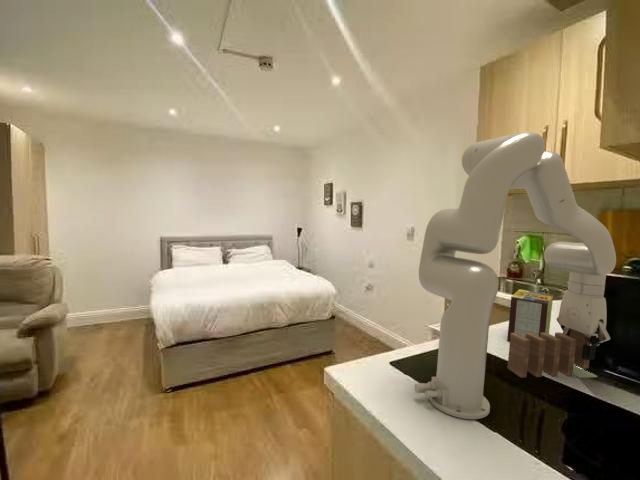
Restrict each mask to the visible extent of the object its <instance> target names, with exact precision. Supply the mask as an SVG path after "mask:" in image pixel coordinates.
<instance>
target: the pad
mask: <svg viewBox="0 0 640 480" xmlns="http://www.w3.org/2000/svg"><path fill="white" fill-rule="evenodd" d="M575 365H576V364H575ZM575 365H574V366H573V375H572V376H575V377H576V378H579V379H581V378H582V379H583V378H584V379H586V378H588V379H589V378H598V375H597V374H594V373H593V372H591V373H590V371H589V372H588V370H587V371H585V370H586V369H585V370H583V369H580V368H578V367H576V366H575Z"/></svg>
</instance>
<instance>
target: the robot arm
mask: <svg viewBox="0 0 640 480" xmlns="http://www.w3.org/2000/svg"><path fill="white" fill-rule="evenodd" d="M545 149H546V141H545V140H544V137H543V136H542V135H541V134H538V133H536V132H532V131H531V132H530V131H526V132H525V131H523V132H518V133H512V134H509V135H504V136H500V137H495V138H491V139H486V140H481V141H478V142H474V143H472V144H470V145H469V146H468V147H466V149H465V150H464V151H463V153H462V157H461V165H462V169H463V171H464V172H465V173H466V175H467V176H468V177H467V179H466V181H465V183H464V187H463V190H462V195H461V198H460V199H461V200H460V203H459V206H458V208H445V209H441V210H439V211H437V212H436V213H434V214H433V215H432V217H431V218H430V219H429V221H428V223H427V225H426V227H425V228H426V229H425V232H424V238H423V242H422V247H421V248H422V249H421V255H420V261H419V267H418V280H419V284H420V285H421V287H422V288H423V289H424V290H425V291H426V292H428V293H430V294H432V295H435V296H438V297H441V298H444V299H446V300H449V301H450V303H449V305H448V307H447V308H446V309H445V311H444V312H443V314H442V317H441V319H440V324H439V325H440V327H439V340H438V352H437V364H436V365H437V367H436V376H431V381H428V382H427V383H423V382H419V383H418V382H417V383H414V391H415V393H416V394H421V393H422V394H424V395H425V397H426V398H428V400H429V402H430V403H431V404H432V406H434V407H435V408H437V409H438V410H439V411H441V412H443V413H444V414H447V415H449V416H452V417H456V418H458V419H464V420H480V419H483V418H486V417H487V416H488V415H489V414H490V410H491V403H490V402H489V400H488V399H487V398H486V397H485V396H484V385H485V378H486V377H485V375H486V366H487V365H486V363H487V353H488V344H489V343H488V341H489V329H490V324H491V323H490V321H491V317H492V316H491V315H492V310H493V307H494V304H495V301H496V298H497V294H498V292H499V291H498V290H499V282H500V281H499V277H498V275H497V273H496V271H495V270H494V269H493V268H492V267H491V266H489V265H488V264H485V263H483V262H481V261H477V260H473V259H468V258H463V257H455V256H456V253H457V252H461V253H466V254H476V255H486V254H490V253H491V252H493V251H494V250H495V248H496V247H497V245H498V243H499V240H500V236H501V235H500V234H501V229H502V224H503V219H504V215H505V214H504V213H505V208H506V203H507V199H508V194H509V192H510V190H520V189H521V190H525V191H526V193H527V197H528V200H529V202H530V204H531V208H532V209H533V210H532V211H533V213H534V216H535V217H536V218H537V220H538V221H540V222H542V223H543V224H545V225H547V226H549V227H553V228H555V229H556V230H560V231H562V232H565V233H566V234H568V235H571V236H573V237H574V238H576V239H578V240H579V241H580V242H570V241H556V242H553V243H550V244H549V245H548V246H547V247H546V248H545V250H544V253H543V259H544V262H545V263H546V265H548V266H549V267H550V268H552V269H553V270H557V271H564V272H568V273H569V276H568V281H566V285H567V286H568V287H567V289H566V290H565V291H564V293H563V296H562V299H561V302H560V307H559V312H558V317H556V322H557V323H558V324H559V327H560V328H561V330H562V333H563V334H565V335H567V336H570V329H573V330H575V331H578V332H580V333H583V334H585V341H586V344H584V345H583V352H582V359H584V360H593V361H594V360H595V357H596V351H597V349H596V348H597V347H598V346H600V345H601V344H602V343H604V342H607V341H610V340H611V336H610V334H609V333H608V331H607V312H608V311H607V300H606V297H604V295H605V288H606V278H607V275H609V274H611V273H612V272H614V269H615V267H616V265H617V256H616V250H615V245H614V241H613V238H612V236H611V234H610V231H609V230H608V229H607V227H606V226H605V225H604V224H603V223H602V222H600V220H598V219H597V218H596V217H594V216H593V215H592V214H591V213H590V212H588V211H586V209H583V208H582V207H580V206H579V205H578V204H577V201H576V198H575V193H574V192H573V187H572V185H571V181H570V180H569V179H570V178H569V175H568V172H567V170H566V166H565V163H564V161H563V158H562V156H561V155H560V154H558V153H556V152H554V151H550V150H545ZM591 336H592V340H591Z"/></svg>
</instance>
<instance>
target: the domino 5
mask: <svg viewBox="0 0 640 480" xmlns="http://www.w3.org/2000/svg"><path fill="white" fill-rule="evenodd" d="M570 337H572V338H574V339H577V340H576V349H575V358H574V364H575V365H577V366H579V367H581V368H583V369H585V370H586V369H589V368H590V360H584V359H582V352H583V345H584V344H586V341H585V334H583V333H580V332H578V331H575V330H573V329H570ZM592 339H593V338H592V336H591V340H592Z"/></svg>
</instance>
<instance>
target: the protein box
mask: <svg viewBox="0 0 640 480" xmlns="http://www.w3.org/2000/svg"><path fill="white" fill-rule="evenodd" d="M553 300H554V294H551V293H544V292H538V291H531V290H525V289H520V288H519V289H518V290H517V291H516V292H514V293H513V294H512V295H511V296H510V306H509V318H508V326H507V327H508V328H507V330H508V331H507V340H506V341H507V342H508V343H510V336H511V333H517V334H519V335H521V336H523V337H525V336H526V333H533V334H535V335H537V336H539V337H540V333H548V334H550V328H551V321H552V320H551V319H552V309H553Z"/></svg>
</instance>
